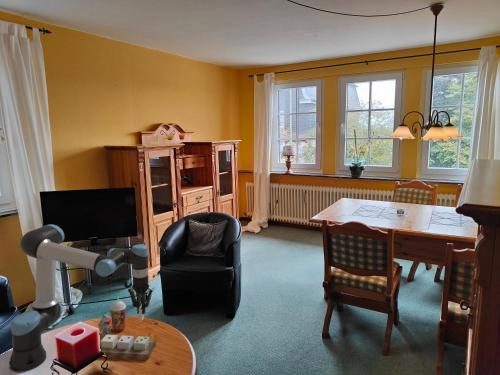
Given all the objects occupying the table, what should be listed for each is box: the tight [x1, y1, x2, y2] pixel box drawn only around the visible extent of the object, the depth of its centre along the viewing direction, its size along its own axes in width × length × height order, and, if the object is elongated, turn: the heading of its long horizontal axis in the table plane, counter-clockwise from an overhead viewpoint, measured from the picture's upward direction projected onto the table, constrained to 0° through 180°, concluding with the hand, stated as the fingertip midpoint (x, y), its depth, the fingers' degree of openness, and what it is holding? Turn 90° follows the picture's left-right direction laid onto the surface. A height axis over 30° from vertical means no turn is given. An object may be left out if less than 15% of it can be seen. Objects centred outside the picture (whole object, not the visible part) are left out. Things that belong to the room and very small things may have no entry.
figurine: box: [97, 310, 113, 340], centre depth 186 cm, size 8×8×15 cm
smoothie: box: [110, 296, 127, 333], centre depth 194 cm, size 8×8×20 cm
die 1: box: [100, 334, 118, 349], centre depth 176 cm, size 6×6×4 cm
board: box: [99, 336, 157, 361], centre depth 176 cm, size 28×13×3 cm, turn 87°
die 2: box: [117, 334, 134, 350], centre depth 175 cm, size 6×6×4 cm
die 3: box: [134, 335, 150, 351], centre depth 175 cm, size 6×6×4 cm
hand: (141, 319), depth 173 cm, fingers closed
